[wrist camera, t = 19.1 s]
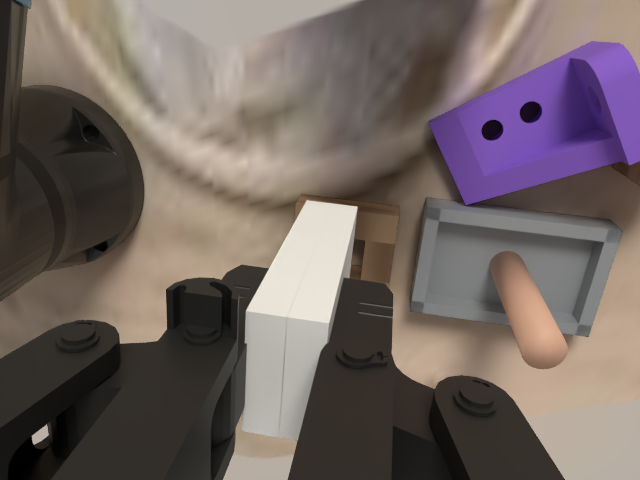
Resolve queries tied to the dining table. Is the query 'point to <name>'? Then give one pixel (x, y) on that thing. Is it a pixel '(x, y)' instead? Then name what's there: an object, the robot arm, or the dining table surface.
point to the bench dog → (629, 170)
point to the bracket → (546, 124)
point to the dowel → (527, 312)
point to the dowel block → (368, 236)
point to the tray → (522, 238)
